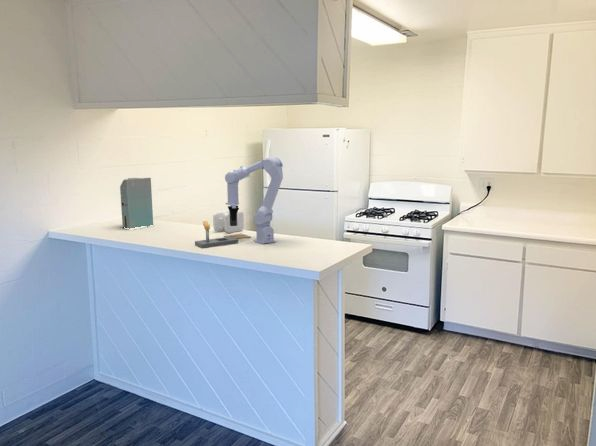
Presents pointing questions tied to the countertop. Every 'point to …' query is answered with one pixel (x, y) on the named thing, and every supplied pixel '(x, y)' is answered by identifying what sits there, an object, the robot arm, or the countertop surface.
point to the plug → (232, 223)
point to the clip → (206, 225)
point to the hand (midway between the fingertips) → (233, 219)
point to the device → (136, 202)
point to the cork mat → (238, 236)
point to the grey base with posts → (215, 241)
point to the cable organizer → (227, 222)
